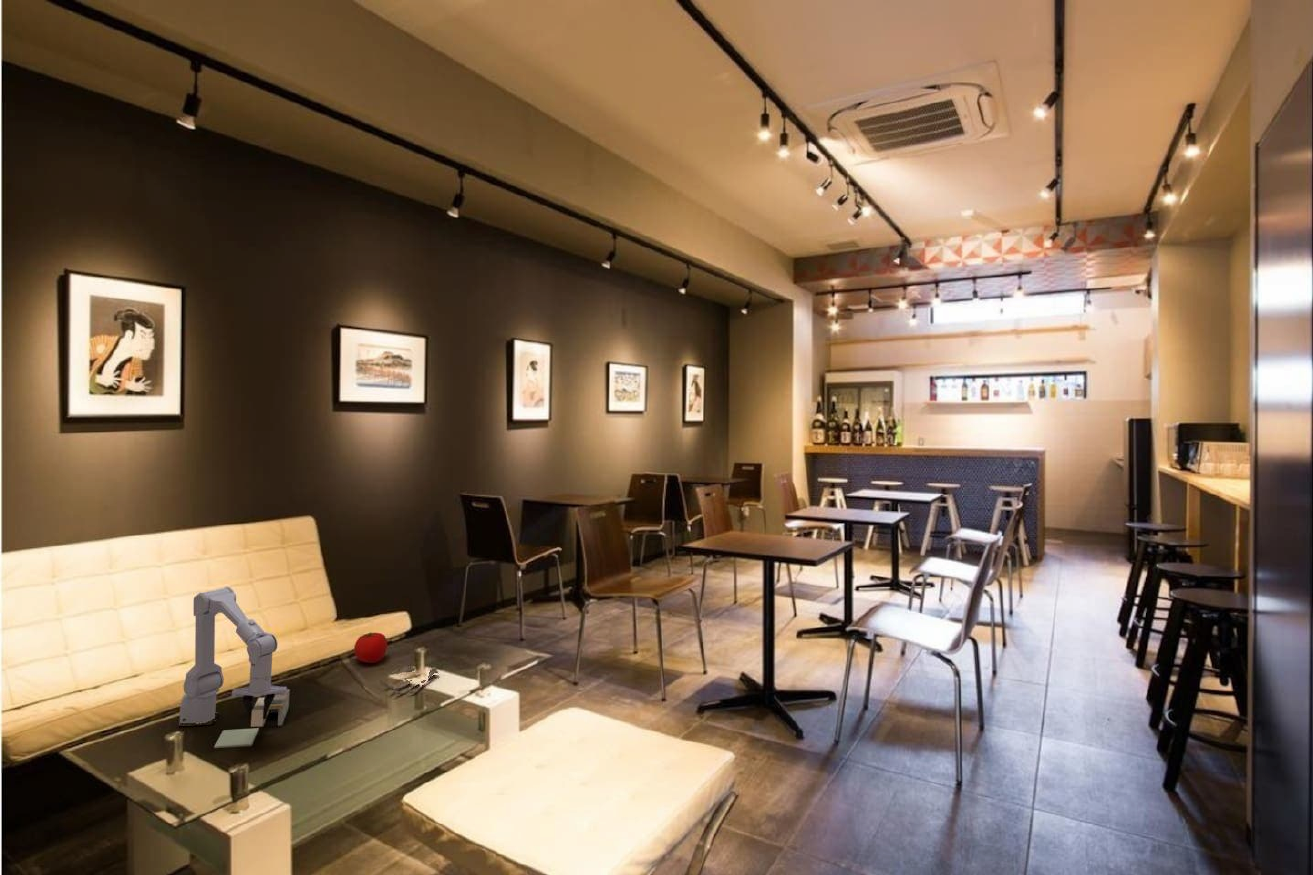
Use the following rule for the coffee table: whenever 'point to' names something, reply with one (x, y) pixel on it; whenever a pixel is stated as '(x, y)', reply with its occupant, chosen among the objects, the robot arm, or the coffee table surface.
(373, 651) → the tomato
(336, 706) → the coffee table surface
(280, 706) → the frame
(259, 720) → the beige rectangular block
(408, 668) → the skeleton model
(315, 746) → the coffee table surface
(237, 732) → the pad
